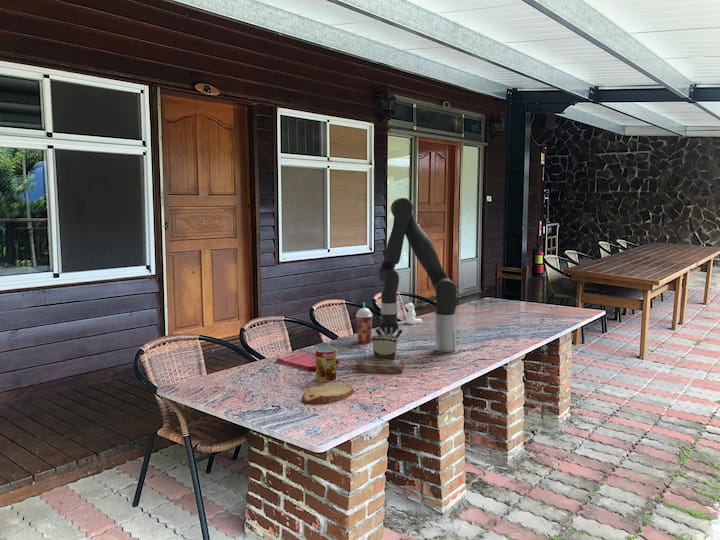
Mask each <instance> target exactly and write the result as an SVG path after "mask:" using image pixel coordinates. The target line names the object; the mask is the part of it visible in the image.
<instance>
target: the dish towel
mask: <svg viewBox="0 0 720 540" xmlns="http://www.w3.org/2000/svg"><path fill="white" fill-rule="evenodd" d="M275 363H277V364H280V363H281V365H285V366H287V365H288V366H287V367H291V366H292V368H295V367H296V368H295V369H299V368H300V370H303V371H306V370H308V371H307V372H310V371H311V372H315V371H316V354H315V355H314V354H310V353H307V352H299V353H295V354H293V355H288V356H286V357H278V358H276V360H275ZM339 363H340V361H339V360H338V359H337V358H336V365H338V364H339ZM314 370H315V371H314Z"/></svg>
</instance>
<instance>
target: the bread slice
mask: <svg viewBox="0 0 720 540" xmlns="http://www.w3.org/2000/svg"><path fill="white" fill-rule="evenodd" d="M353 394H354V388H353V387H352V385H350V384H348V383H345V382H343V383H342V382H341V383H339V382H337V383H331V384H325V385H320V386H317V387H316V386H315V387H311V388H308V389H307V390H305V392H303V394H302V397H301V401H302V403H303V404H307V405H323V404H325V405H326V404H330V403H336V402H340V401H342V400H344V399H347V398H349V397H351V396H352V395H353Z"/></svg>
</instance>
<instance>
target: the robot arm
mask: <svg viewBox="0 0 720 540" xmlns="http://www.w3.org/2000/svg"><path fill="white" fill-rule="evenodd" d="M413 210H414V204H413V202H412V201H411V200H410V199H409V198H407V197H401V198H397V199H395V200H394V201H393V202H392V203H391V206H390V212H391V214H392V216H393V222H392V223H393V225H392V228H391V232H390V235H389V238H388V241H387V245H386V248H385V254H384V259H383V261H382V263H381V266H380V268H379V270H378V271H379V272H378V279H379V281H380V282H381V283H382V284H384V289H383V290H381V295H380V296H381V297H380V299H381V305H380V324H379V327H378V328H376V329H375V333H376V334H377V335H392V336H394V334H396V335H395V336H396V337H397V339H398V338H399V337H400V336H401V334H402V333H403V331H404V330H403V328H401V327H399V326H400V325H399V324H398V301H397V299H398V298H397V295H398V290H399V288H398V287H399V282H400V276H399V273H398V272H397V271H396V270H395V268H396V266H397V265H398V264H399V263H400V262H401V261H400V260H401V256H402V251H403V247H404V240H405V237H406V239H407V241H408V244H409V245H410V248H411V249H412V253H413V254H414V255H415V257H416V259H417V260H418V262H419V264H420V265H421V266H422V268H423V269H424V271H425V272H426V275H428V278H429V280H430V283H431V285H432V287H433V290H434V292H435V294H436V296H435V299H436V300H435V307H434V320H435V322H434V338H435V339H434V341H435V343H434V348H435V349H434V350H435V351H437V352H441V353H451V352H456V308H457V287H456V284H455V283H454V282H453V281H452V280H451V279H450V278H449V276H448V274H447V273H446V272H445V270H444V269H443V267H442V264H441V261H440V259H439V255H438V253H437V250H436V249H435V246H434V245H433V242H432V241H431V239H430V237H429V236H428V235H427V234H426V232H425V231H424V230H423V229H422V228H421V226H420V225H419V224H418V222H417V220H416V218H415V216H414V213H413ZM382 332H383V333H384V334H383V333H382Z"/></svg>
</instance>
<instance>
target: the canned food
mask: <svg viewBox="0 0 720 540" xmlns="http://www.w3.org/2000/svg"><path fill="white" fill-rule="evenodd" d="M336 352H337V351H336V347H332V346H331V347H330V346H322V347H321V346H320V347H318V348H315V356H316V370H315V372H316V373H315V374H316V375H315V376H316V377H315V378H316V379H315V380H316V381H318V382H320V383H330V382H334V381H336V380H337V364H336V359H337V357H336V355H337V354H336Z"/></svg>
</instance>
